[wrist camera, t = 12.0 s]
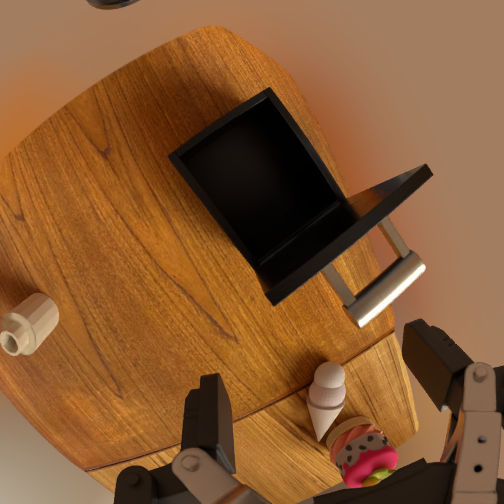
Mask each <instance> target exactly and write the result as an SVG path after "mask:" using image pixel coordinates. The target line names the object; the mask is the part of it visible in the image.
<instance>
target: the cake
mask: <svg viewBox="0 0 504 504" xmlns="http://www.w3.org/2000/svg"><path fill="white" fill-rule="evenodd" d="M382 432H383V431H378V430H377V428H376V427H375V425H374V424H373V423H372V421H371V420H370V419H369V418H367V417H364V416H358V417H354V418H350V419H348V420H346V421H344V422H342V423H341V424H339V425H338V426H337V427H335V428H334V429H333V430H332V431H331V432H330V434H329V436H328V437H327V441H326V445H327V447H328V449H329V451H330V459H331V462H332V463H334V464H335V465H336V466H337V467H338V468H339V470H340V472H341V476H342V479H343V481H344V482H345V484H346V485H347V486H348V487H349V488H360V487H368V486H373V485H376V484H377V483H379V482H380V480H381V479H382V478H384V479H385V478H386V477H388V476H389V475H391V474H392V473H394V472H395V471H397V470H393V468H394V467H395V465H396V463H397V461H398V454H397V453H396V451H395V450H394V448H393V447H392V446H390V445H389V444H388V443H387V442H388V440H387V438H386V437H383V436H382V435H381V434H382Z"/></svg>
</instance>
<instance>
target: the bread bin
mask: <svg viewBox="0 0 504 504" xmlns="http://www.w3.org/2000/svg"><path fill="white" fill-rule="evenodd" d="M168 158H169V160H170V161H171V162H172V164H173V165H174V166H175V167H176V169H177V170H178V171H179V173H180V174H181V175H182V177H183V178H184V179H185V181H186V182H187V183H188V185H189V186H190V187H191V189H192V190H193V191H194V193H195V194H196V195H197V196H198V198H199V199H200V200H201V202H202V203H203V204H204V206H205V207H206V208H207V210H208V211H209V212H210V214H211V215H212V216H213V217H214V219H215V220H216V221H217V223H218V224H219V225H220V227H221V228H222V229H223V231H224V232H225V233H226V234H227V236H228V237H229V238H230V240H231V241H232V242H233V244H234V245H235V246H236V247H237V249H238V250H239V251H240V253H241V254H242V255H243V257H244V258H245V259H246V260H247V262H248V263H249V264H250V266H251V267H252V268H253V270H255V269H256V268H258V267H259V266H260V265H261V264H263V263H264V262H265V261H267V260H268V259H269V258H271V257H272V256H273V255H275V254H276V253H277V252H278V251H280V250H281V249H282V248H284V247H285V246H286V245H288V244H289V243H290V242H292V241H293V240H294V239H295V238H297V237H298V236H299V235H301V234H302V233H303V232H305V231H306V230H307V229H308V228H310V227H311V226H312V225H314V224H315V223H316V222H317V221H319V220H320V219H321V218H323V217H324V216H325V215H326V214H328V213H329V212H330V211H332V210H333V209H334V208H335V207H337V206H338V205H339V204H341V203H342V202H343V201H344V200H346V198H345V196H344V194H343V193H342V191H341V189H340V188H339V186H338V184H337V183H336V181H335V180H334V178H333V177H332V175H331V173H330V172H329V170H328V169H327V167H326V166H325V164H324V163H323V161H322V159H321V158H320V156H319V155H318V153H317V152H316V150H315V149H314V147H313V146H312V144H311V143H310V142H309V140H308V139H307V137H306V136H305V134H304V133H303V131H302V130H301V129H300V127H299V126H298V124H297V123H296V121H295V120H294V119H293V117H292V116H291V115H290V113H289V112H288V110H287V109H286V108H285V106H284V105H283V104H282V102H281V101H280V100H279V98H278V97H277V96H276V94H275V93H274V92H273V90H272V89H271V88H270V87H268V88H267V89H265V90H263V91H262V92H260V93H258V94H257V95H255V96H254V97H252V98H250V99H249V100H247V101H246V102H244V103H242V104H241V105H239V106H238V107H236V108H235V109H233V110H232V111H230V112H229V113H227V114H225V115H224V116H222V117H221V118H220V119H218V120H217V121H215V122H214V123H212V124H211V125H209V126H208V127H206V128H205V129H204V130H202V131H201V132H199V133H198V134H196V135H195V136H194V137H192V138H191V139H190V140H188V141H187V142H185V143H184V144H183V145H181V146H180V147H179V148H177V149H176V150H175V151H173V152H172V153H171V154H169V155H168Z"/></svg>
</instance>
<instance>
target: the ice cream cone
mask: <svg viewBox="0 0 504 504" xmlns="http://www.w3.org/2000/svg"><path fill="white" fill-rule="evenodd" d="M344 379H345V373H344V370H343V368H342V367H341V366H340V365H339V364H338V363H336V362H331V361H330V362H325V363H323V364H321V365H320V366H319V367H318V368H317V369H316V371H315V374H314V381H313V382H312V384H311V386H310V388H309V395H308V396H307V398H306V402H307V405H308V408H309V412H310V415H311V419H312V422H313V426H314V429H315V433H316V436H317V439H318V442H319V441H320V439H321V438H322V437H323V435H324V434H325V433H326V431H327V430H328V428H329V427H330V426H331V424H332V423H333V421H334V420H335V418H336V417H337V415H338V414H339V412H340V411H341V409H342V408H343V406H344V405H345V399H344V397H345V393H346V390H345V386H344V383H343V382H344Z"/></svg>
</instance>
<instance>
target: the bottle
mask: <svg viewBox="0 0 504 504" xmlns="http://www.w3.org/2000/svg"><path fill="white" fill-rule="evenodd" d="M58 321H59V312H58V308H57V306H56V304H55V302H54V301H53V300H52V299H51V298H50V297H49V296H47V295H46V294H43V293H34V294H32V295H31V296H29V297H28V298H27V299H25V300H24V301H23V302H21V303H20V304H19V305H18V306H16V307H15V308H14V309H12V310H11V311H10V312H9V313H7V314H6V316H5V317H4V318H3V321H2V330H3V331H2V332H1V333H0V343H1V345H2V347H3V349H4V350H5V351H6V352H7V353H8V354H10V355H12V356H17V355H18V354H19V353H21V354H24V355H28V354H32V353H33V352H34V351H35V350H36V349H37V348H38V347H39V345H40V344H41V343H42V342H43V341H44V339H45V338H46V337H47V336H48V335H49V334H50V333H51V331H52V330H53V329H54V328H55V327H56V325H57V324H58Z"/></svg>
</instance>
